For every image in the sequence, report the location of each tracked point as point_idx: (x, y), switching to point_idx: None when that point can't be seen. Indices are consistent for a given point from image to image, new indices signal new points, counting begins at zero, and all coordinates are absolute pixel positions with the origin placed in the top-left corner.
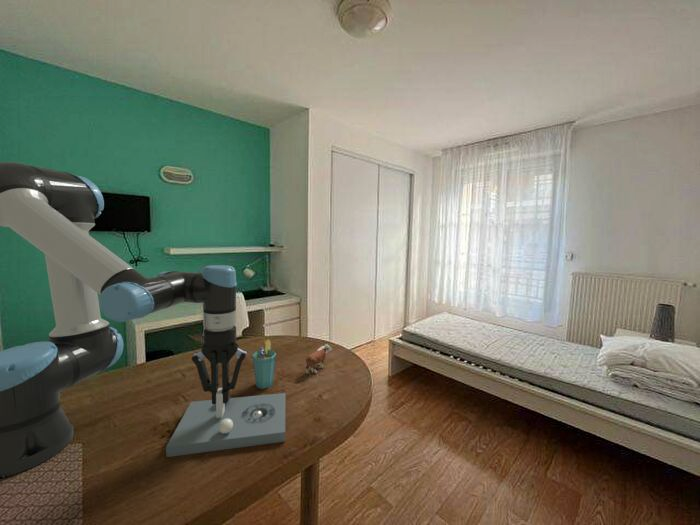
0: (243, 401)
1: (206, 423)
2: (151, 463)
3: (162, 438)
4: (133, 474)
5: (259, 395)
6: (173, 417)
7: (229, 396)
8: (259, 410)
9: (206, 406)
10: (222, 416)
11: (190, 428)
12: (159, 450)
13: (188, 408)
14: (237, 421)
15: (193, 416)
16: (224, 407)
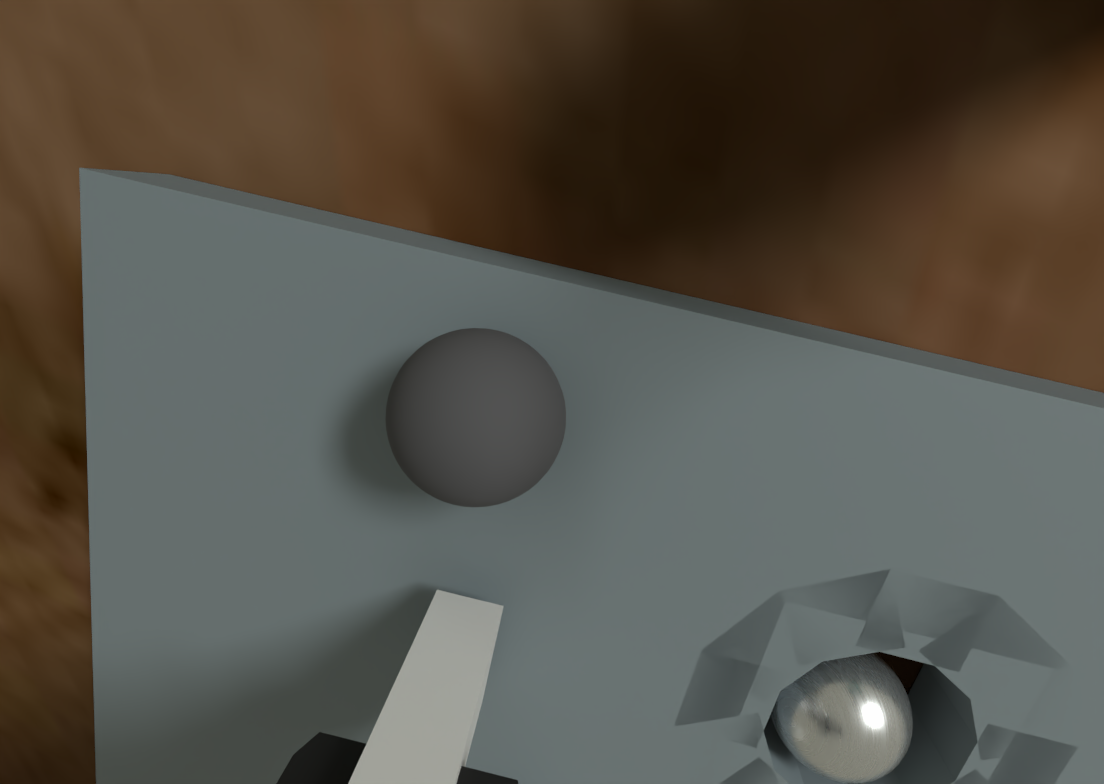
0: (749, 443)
1: (342, 662)
2: (90, 726)
3: (57, 520)
4: (29, 761)
5: (1007, 389)
6: (29, 244)
7: (560, 438)
8: (891, 745)
9: (293, 365)
10: (480, 708)
11: (214, 672)
12: (90, 638)
13: (93, 321)
14: (630, 757)
15: (192, 504)
16: (492, 647)
